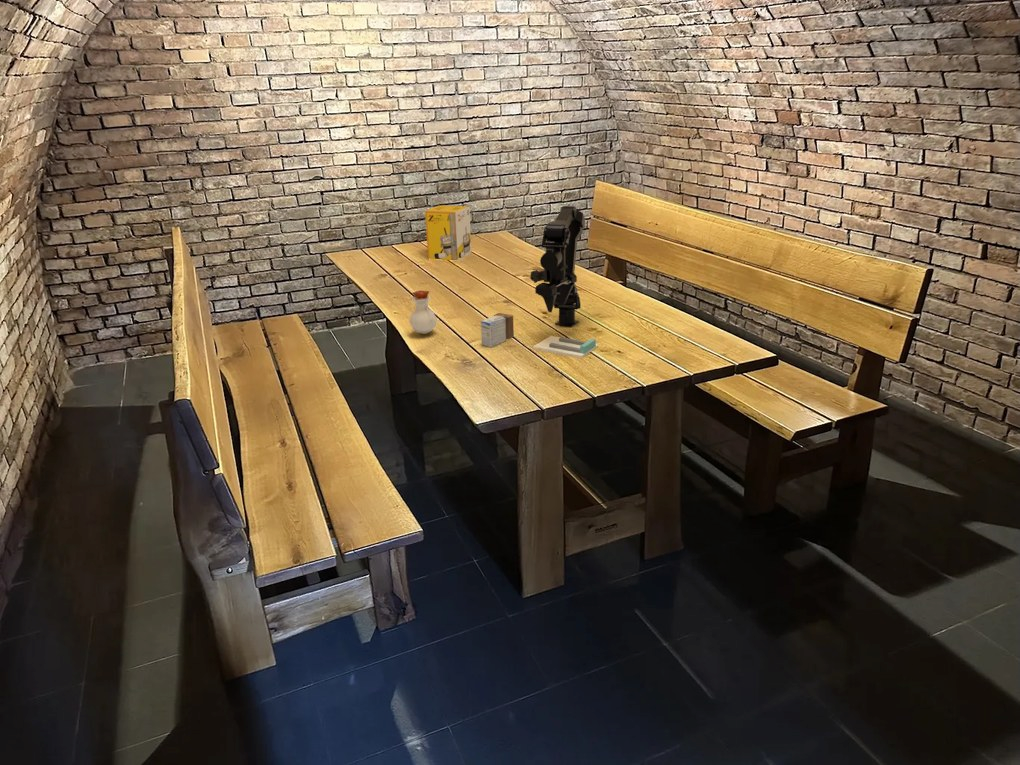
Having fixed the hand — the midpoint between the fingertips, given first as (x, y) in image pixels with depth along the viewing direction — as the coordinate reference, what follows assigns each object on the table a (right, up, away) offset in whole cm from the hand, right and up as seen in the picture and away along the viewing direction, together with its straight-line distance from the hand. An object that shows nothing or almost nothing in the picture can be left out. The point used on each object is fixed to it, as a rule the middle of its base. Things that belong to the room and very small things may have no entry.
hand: (556, 308), depth 244 cm
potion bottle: (-46, -8, +15) cm, 49 cm away
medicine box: (-21, -12, +4) cm, 24 cm away
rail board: (+3, -14, -2) cm, 14 cm away
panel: (-20, -5, +10) cm, 23 cm away
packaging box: (-45, +37, +120) cm, 134 cm away
